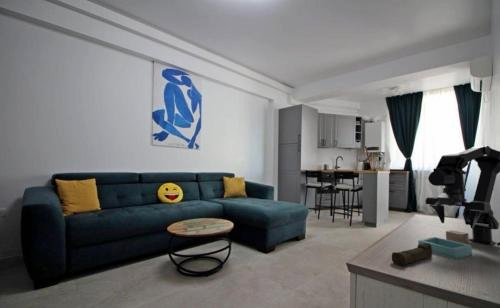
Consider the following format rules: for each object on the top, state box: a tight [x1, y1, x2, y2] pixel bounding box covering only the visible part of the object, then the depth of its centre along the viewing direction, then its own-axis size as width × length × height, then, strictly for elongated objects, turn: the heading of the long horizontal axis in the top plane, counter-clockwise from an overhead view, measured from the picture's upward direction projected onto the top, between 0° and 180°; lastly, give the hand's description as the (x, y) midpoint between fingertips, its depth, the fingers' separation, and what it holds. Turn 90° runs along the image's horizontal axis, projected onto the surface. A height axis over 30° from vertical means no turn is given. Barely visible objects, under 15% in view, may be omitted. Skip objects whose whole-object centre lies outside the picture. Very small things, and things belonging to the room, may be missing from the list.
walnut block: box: [445, 229, 470, 245], centre depth 89 cm, size 5×5×5 cm
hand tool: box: [391, 243, 433, 267], centre depth 72 cm, size 19×4×5 cm, turn 114°
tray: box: [417, 236, 473, 260], centre depth 81 cm, size 11×11×3 cm
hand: (456, 225), depth 89 cm, fingers open, 9 cm apart
